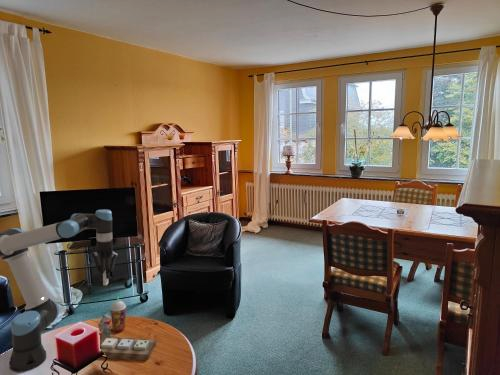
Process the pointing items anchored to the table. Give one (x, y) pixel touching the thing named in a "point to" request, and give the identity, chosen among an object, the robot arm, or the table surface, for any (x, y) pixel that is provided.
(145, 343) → the die
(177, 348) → the table surface
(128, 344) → the die
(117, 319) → the smoothie
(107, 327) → the figurine
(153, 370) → the table surface
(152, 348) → the board
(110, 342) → the die
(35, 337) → the robot arm
